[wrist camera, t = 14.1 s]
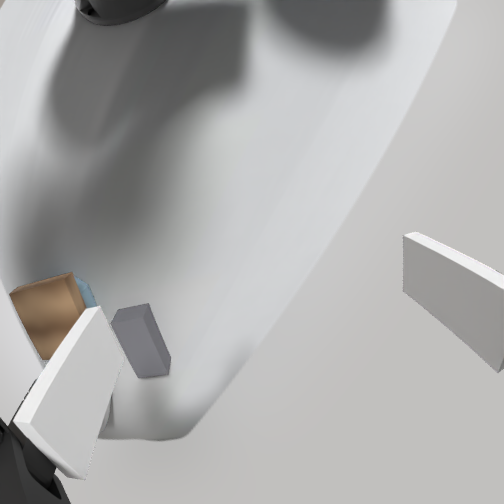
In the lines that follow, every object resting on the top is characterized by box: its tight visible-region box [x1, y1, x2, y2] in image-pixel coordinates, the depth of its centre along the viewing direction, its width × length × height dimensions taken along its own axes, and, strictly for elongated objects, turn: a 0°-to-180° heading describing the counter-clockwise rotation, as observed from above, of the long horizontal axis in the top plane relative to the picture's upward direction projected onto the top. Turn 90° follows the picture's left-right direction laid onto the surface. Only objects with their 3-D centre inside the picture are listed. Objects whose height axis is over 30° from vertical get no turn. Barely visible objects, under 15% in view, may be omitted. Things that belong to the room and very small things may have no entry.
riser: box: [111, 303, 171, 378], centre depth 39 cm, size 10×5×4 cm, turn 12°
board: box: [9, 272, 87, 360], centre depth 32 cm, size 11×11×2 cm
